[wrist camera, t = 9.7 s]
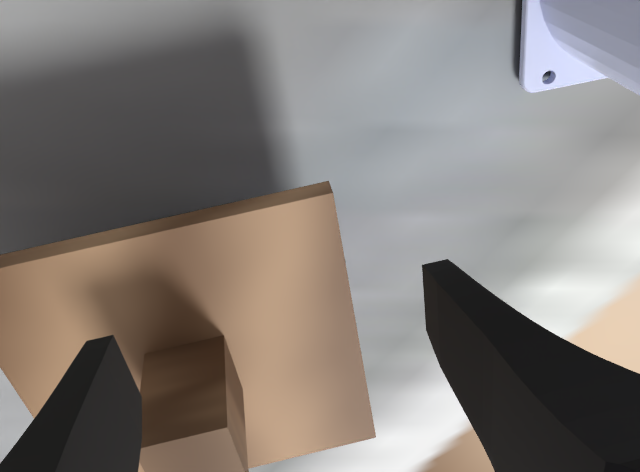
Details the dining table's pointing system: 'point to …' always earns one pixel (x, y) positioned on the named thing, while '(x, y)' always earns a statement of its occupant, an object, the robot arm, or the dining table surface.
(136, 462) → the robot arm
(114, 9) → the dining table surface
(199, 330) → the lid
